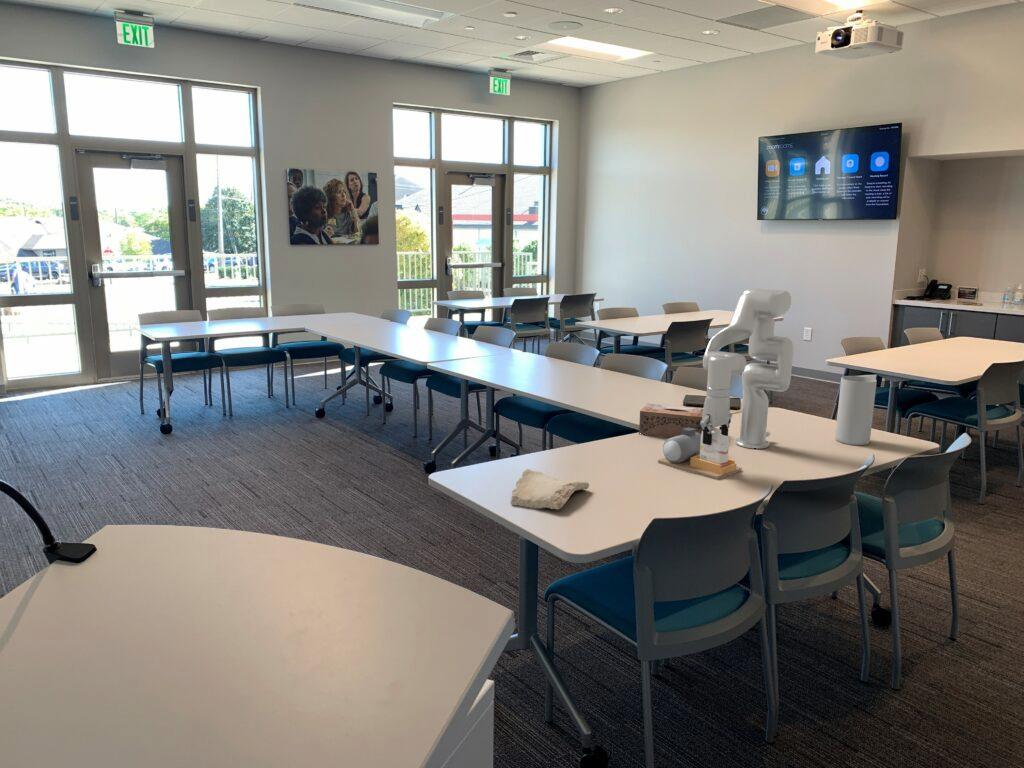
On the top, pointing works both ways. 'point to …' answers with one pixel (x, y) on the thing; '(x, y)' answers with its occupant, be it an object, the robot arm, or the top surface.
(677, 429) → the tissue box cover
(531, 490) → the beige pottery fragment
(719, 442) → the ink cartridge box
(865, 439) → the cylinder vase
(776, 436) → the top surface
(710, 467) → the motor mount
